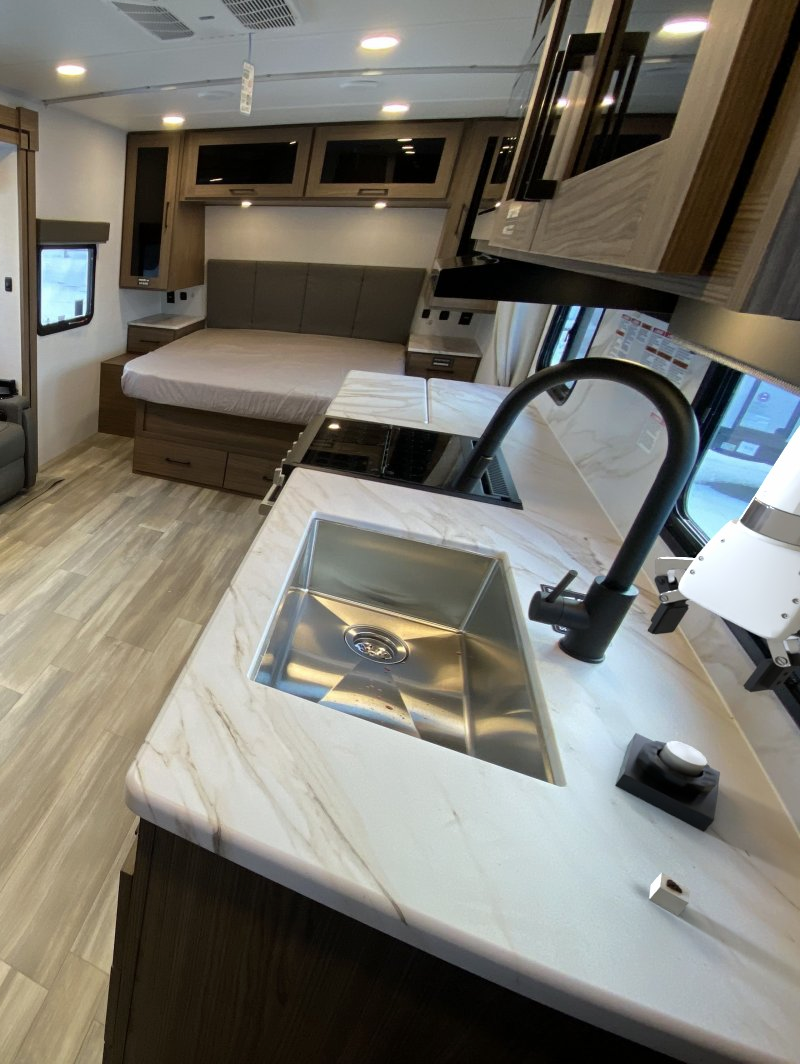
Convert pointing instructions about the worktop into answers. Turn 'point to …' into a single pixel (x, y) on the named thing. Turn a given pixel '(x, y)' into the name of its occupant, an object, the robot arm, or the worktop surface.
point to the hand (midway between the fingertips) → (705, 658)
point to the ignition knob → (683, 758)
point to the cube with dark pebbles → (669, 894)
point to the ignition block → (668, 784)
